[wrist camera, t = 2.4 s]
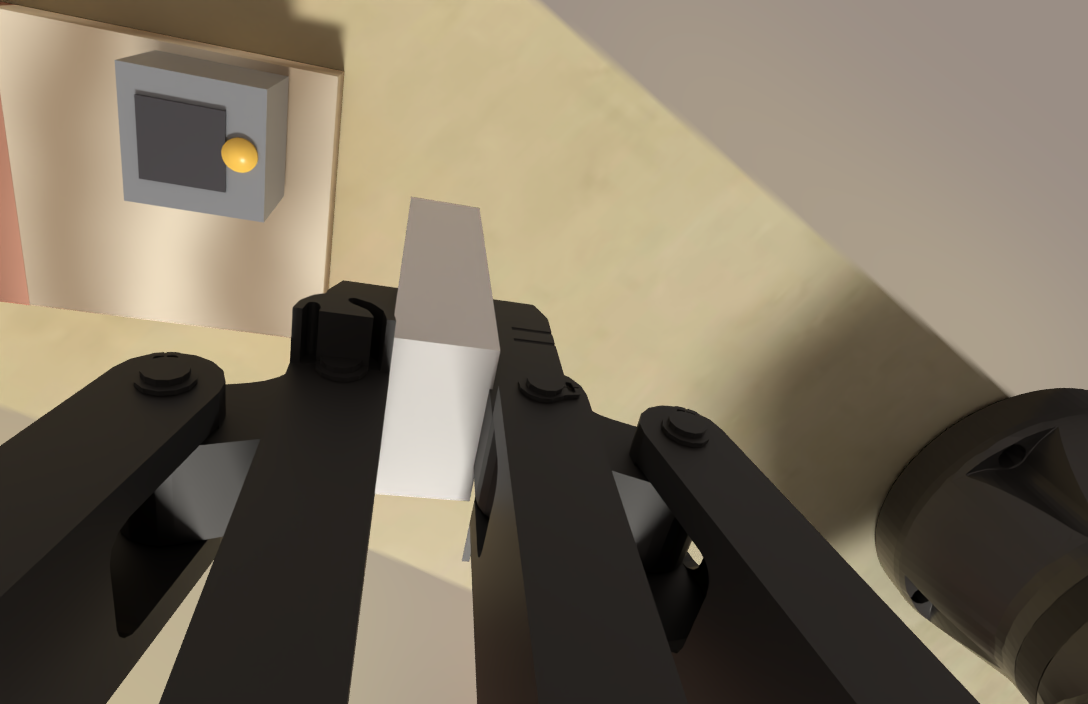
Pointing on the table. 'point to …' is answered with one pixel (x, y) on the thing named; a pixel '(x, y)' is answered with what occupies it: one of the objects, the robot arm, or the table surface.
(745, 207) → the table surface
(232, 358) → the table surface
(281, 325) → the plank
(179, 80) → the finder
